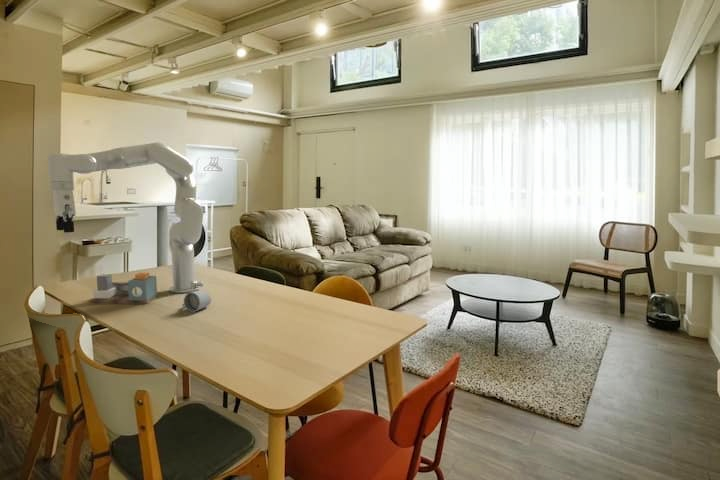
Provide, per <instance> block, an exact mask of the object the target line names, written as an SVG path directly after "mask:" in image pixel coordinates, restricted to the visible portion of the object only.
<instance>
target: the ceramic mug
mask: <svg viewBox="0 0 720 480" xmlns="http://www.w3.org/2000/svg"><path fill="white" fill-rule="evenodd" d="M211 302H212V296H211V293H210V292H209V291H207V290H206V289H205V290H204V289H200V290H199V289H198V290H196V291H193V292H187V293H186V294H185V295H184V298H183V303H182V305H181V306H182V308H183V309H186V310H187V311H189V312H191V313H194V312H198V311H201V310H202V309H206V308H207V307H208V306H209V305H210V304H211Z"/></svg>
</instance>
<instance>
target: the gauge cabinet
mask: <svg viewBox="0 0 720 480" xmlns="http://www.w3.org/2000/svg"><path fill="white" fill-rule="evenodd" d="M127 282H128V289H129V300H148V299H149V298H151V297H153V296H154V295H156V294H157V295H158V290H157V289H158V285H157V275H149V278H148V279H146V280H135V277H134V278H131V279H129V280H128V281H127Z"/></svg>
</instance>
